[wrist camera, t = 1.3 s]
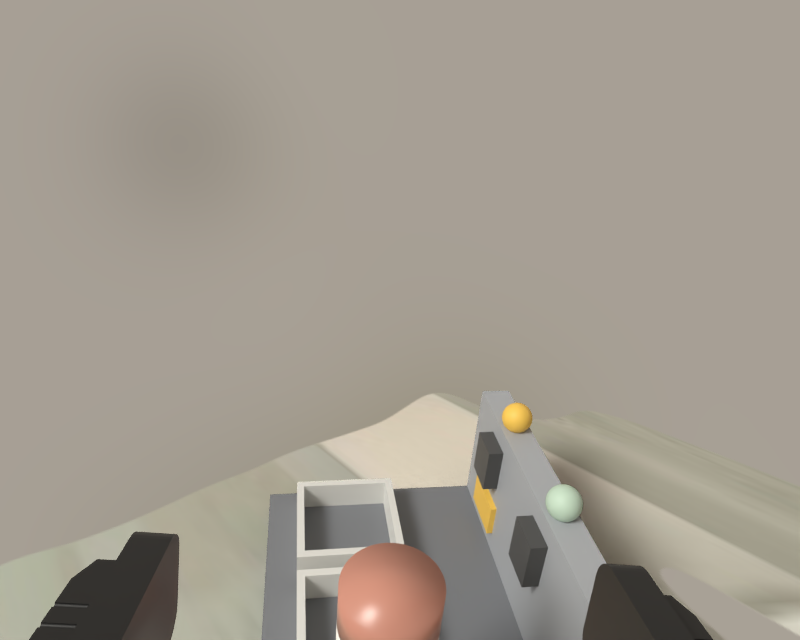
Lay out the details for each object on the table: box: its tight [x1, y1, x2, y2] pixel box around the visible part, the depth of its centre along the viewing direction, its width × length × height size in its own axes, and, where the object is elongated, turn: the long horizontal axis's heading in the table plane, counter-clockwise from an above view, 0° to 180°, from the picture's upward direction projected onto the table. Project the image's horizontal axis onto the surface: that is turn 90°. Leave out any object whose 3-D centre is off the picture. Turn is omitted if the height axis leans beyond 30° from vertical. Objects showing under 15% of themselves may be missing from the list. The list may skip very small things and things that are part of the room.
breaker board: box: [262, 391, 607, 640], centre depth 34 cm, size 25×18×12 cm
